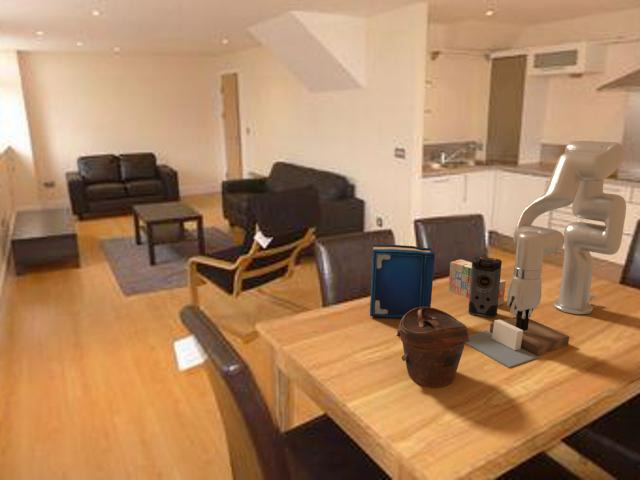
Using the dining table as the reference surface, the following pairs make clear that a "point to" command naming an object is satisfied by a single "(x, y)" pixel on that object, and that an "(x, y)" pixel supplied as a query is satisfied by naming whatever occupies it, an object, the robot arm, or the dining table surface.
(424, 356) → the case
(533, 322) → the plate
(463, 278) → the stack of blocks
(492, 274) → the electronic device
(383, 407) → the dining table surface
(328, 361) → the dining table surface
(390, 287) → the book
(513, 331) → the tile
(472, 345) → the mat
